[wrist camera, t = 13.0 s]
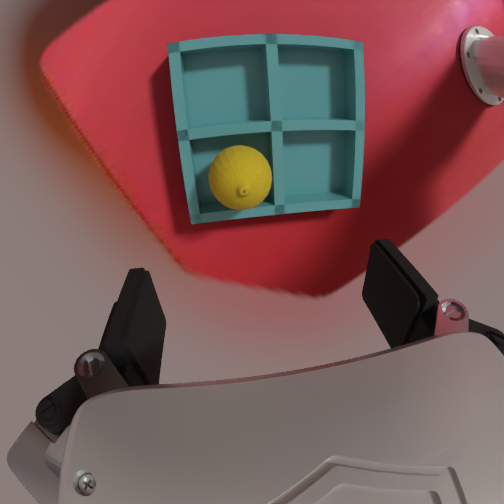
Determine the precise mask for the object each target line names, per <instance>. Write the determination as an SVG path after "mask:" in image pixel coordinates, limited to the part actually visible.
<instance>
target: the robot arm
mask: <svg viewBox="0 0 504 504" xmlns="http://www.w3.org/2000/svg"><path fill="white" fill-rule="evenodd" d="M460 55H461V62H462V66H463V70H464V73H465V76H466V79H467V81H468V83H469V85H470V87H471V89H472V90H473V92H474V93H475V95H476V96H477V97H478V98H479V99H480V100H481V101H483V102H484V103H486V104H490V105H498V104H500V103H501V102H503V100H504V37H499V36H494V35H493V34H492V33H491V32H490V31H488V30H487V29H486V28H483V27H481V26H471V27H468V28H467V29H466V30H465V31H464V33H463V35H462V38H461V45H460ZM362 296H363V300H364V302H365V303H366V305H367V307H368V308H369V310H370V312H371V314H372V315H373V317H374V319H375V320H376V322H377V324H378V326H379V328H380V329H381V331H382V333H383V335H384V336H385V338H386V340H387V342H388V344H389V346H390V347H391V349H387V350H384V351H380V352H376V353H372V354H368V355H365V356H360V357H356V358H352V359H348V360H343V361H339V362H334V363H330V364H325V365H320V366H315V367H310V368H304V369H299V370H294V371H287V372H281V373H275V374H268V375H261V376H253V377H246V378H238V379H227V380H217V381H206V382H192V383H177V384H159V376H160V367H161V359H162V352H163V343H164V337H165V330H166V319H165V316H164V314H163V311H162V308H161V305H160V302H159V299H158V297H157V293H156V291H155V288H154V285H153V282H152V278H151V275H150V273H149V271H145V269H144V268H135V269H130V270H129V272H128V274H127V277H126V280H125V282H124V285H123V287H122V290H121V293H120V295H119V298H118V301H117V302H115V303H114V305H113V308H112V311H111V313H110V316H109V319H108V322H107V324H106V327H105V330H104V333H103V336H102V339H101V343H100V346H99V349H91V350H88V351H86V352H84V353H82V354H81V355H80V356H79V357H78V358H77V360H76V362H75V364H74V373H75V376H74V377H72V378H71V379H70V380H68V381H67V382H65V383H64V384H63V385H61V386H60V387H58V388H57V389H56V390H54V391H53V392H51V393H50V394H49V395H47V396H46V397H45V398H43V399H42V400H41V401H40V403H39V404H38V406H37V408H36V421H35V422H32V421H31V422H30V423H29V424H28V426H27V427H26V428H25V429H24V431H23V432H22V433H21V435H20V436H19V437H18V439H17V440H16V441H15V443H14V444H13V446H12V447H11V448H10V450H9V452H8V455H7V462H8V465H9V467H10V469H11V470H12V472H13V473H14V474H15V476H16V477H17V478H18V479H19V481H20V482H21V483H22V484H23V486H25V488H26V489H27V490H28V491H29V493H30V494H31V495H32V496H33V497H34V498H35V499H36V500H37V502H38V503H39V504H504V334H503V333H502V332H501V331H499V330H497V329H495V328H492V327H490V326H487V325H484V324H482V323H479V322H476V321H474V320H471V319H469V315H468V311H467V309H466V307H465V306H464V305H463V304H462V303H460V302H459V301H456V300H454V299H444V300H442V301H441V302H439V301H438V300H437V298H438V294H437V293H436V292H435V291H434V290H433V288H432V287H431V286H430V285H429V284H428V283H427V281H426V280H425V279H424V278H423V277H422V276H421V274H420V273H419V272H418V271H417V270H416V269H415V267H414V266H413V265H412V264H411V263H410V262H409V261H408V260H407V258H406V257H405V256H404V255H403V254H402V253H401V252H400V251H399V250H398V249H397V248H396V246H395V245H394V244H393V243H392V242H391V241H390V240H389V239H381V240H376V241H375V242H374V244H372V245H371V248H370V254H369V260H368V265H367V271H366V276H365V281H364V286H363V290H362Z"/></svg>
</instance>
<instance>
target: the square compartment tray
mask: <svg viewBox="0 0 504 504" xmlns="http://www.w3.org/2000/svg"><path fill="white" fill-rule="evenodd" d="M168 54H169V65H170V76H171V86H172V95H173V104H174V113H175V121H176V129H177V136H178V144H179V151H180V158H181V164H182V171H183V178H184V184H185V190H186V196H187V202H188V208H189V214H190V219H191V224H198V223H206V222H215V221H223V220H231V219H240V218H249V217H258V216H268V215H277V214H288V213H298V212H309V211H320V210H332V209H344V208H357V207H360V198H361V186H362V172H363V155H364V129H365V84H364V58H363V43H362V42H361V41H354V40H347V39H340V38H331V37H321V36H309V35H289V34H254V35H234V36H221V37H211V38H202V39H195V40H188V41H181V42H175V43H170V44H168ZM236 145H243V146H249V147H251V148H254V149H256V150H257V151H259V152H260V153H261V154H262V155H263V156H264V157H265V158H266V160H267V161H268V163H269V166H270V168H271V173H272V183H271V188H270V190H269V193H268V195H267V196H266V198H265V199H264V200H263V201H262V202H261V203H260V204H259V205H257V206H255V207H253V208H251V209H247V210H235V209H231V208H228V207H226V206H224V205H223V204H222V203H221V202H219V201H218V200H217V199H216V197H215V196H214V194H213V193H212V191H211V188H210V185H209V176H208V174H209V169H210V166H211V164H212V161H213V159H214V158H215V157H216V156H217V155H218V154H219V153H220V152H221V151H223V150H224V149H226V148H228V147H231V146H236Z"/></svg>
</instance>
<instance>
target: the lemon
mask: <svg viewBox="0 0 504 504" xmlns="http://www.w3.org/2000/svg"><path fill="white" fill-rule="evenodd" d="M208 176H209V185H210V188H211V191H212V193H213V194H214V196H215V197H216V199H217V200H218V201H219V202H221V203H222V204H223V205H224V206H226V207H228V208H231V209H235V210H247V209H251V208H253V207H255V206H257V205H259V204H260V203H261V202H262V201H263V200H264V199H265V198H266V196H267V195H268V193H269V190H270V188H271V183H272V173H271V168H270V166H269V163H268V161H267V160H266V158H265V157H264V156H263V155H262V154H261V153H260V152H259V151H257V150H256V149H254V148H251V147H249V146H243V145H236V146H231V147H228V148H226V149H224V150H223V151H221V152H220V153H219V154H218V155H217V156H216V157H215V158H214V159H213V161H212V164H211V166H210V169H209V174H208Z"/></svg>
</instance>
